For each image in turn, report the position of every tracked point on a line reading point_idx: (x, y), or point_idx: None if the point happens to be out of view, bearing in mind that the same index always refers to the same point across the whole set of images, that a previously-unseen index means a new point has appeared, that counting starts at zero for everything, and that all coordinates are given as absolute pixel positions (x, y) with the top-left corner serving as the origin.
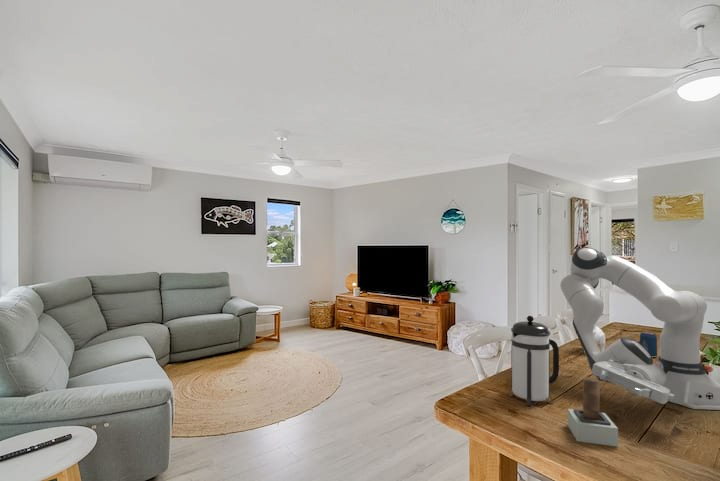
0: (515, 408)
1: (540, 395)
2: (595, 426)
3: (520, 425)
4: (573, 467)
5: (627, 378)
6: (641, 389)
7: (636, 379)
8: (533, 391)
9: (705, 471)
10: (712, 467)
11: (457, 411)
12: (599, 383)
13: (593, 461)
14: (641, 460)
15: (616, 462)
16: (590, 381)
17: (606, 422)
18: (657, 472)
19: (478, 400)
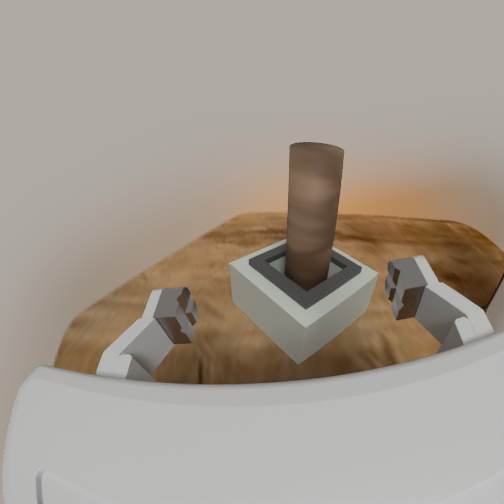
0: (464, 290)
1: (489, 319)
2: (273, 245)
3: (393, 248)
4: (258, 215)
5: (283, 383)
6: (151, 309)
7: (203, 454)
8: (494, 296)
9: (78, 322)
10: (60, 346)
11: (451, 226)
12: (290, 154)
13: (246, 236)
14: (181, 284)
15: (217, 253)
16: (307, 142)
17: (258, 257)
18: (155, 268)
19: (493, 267)
